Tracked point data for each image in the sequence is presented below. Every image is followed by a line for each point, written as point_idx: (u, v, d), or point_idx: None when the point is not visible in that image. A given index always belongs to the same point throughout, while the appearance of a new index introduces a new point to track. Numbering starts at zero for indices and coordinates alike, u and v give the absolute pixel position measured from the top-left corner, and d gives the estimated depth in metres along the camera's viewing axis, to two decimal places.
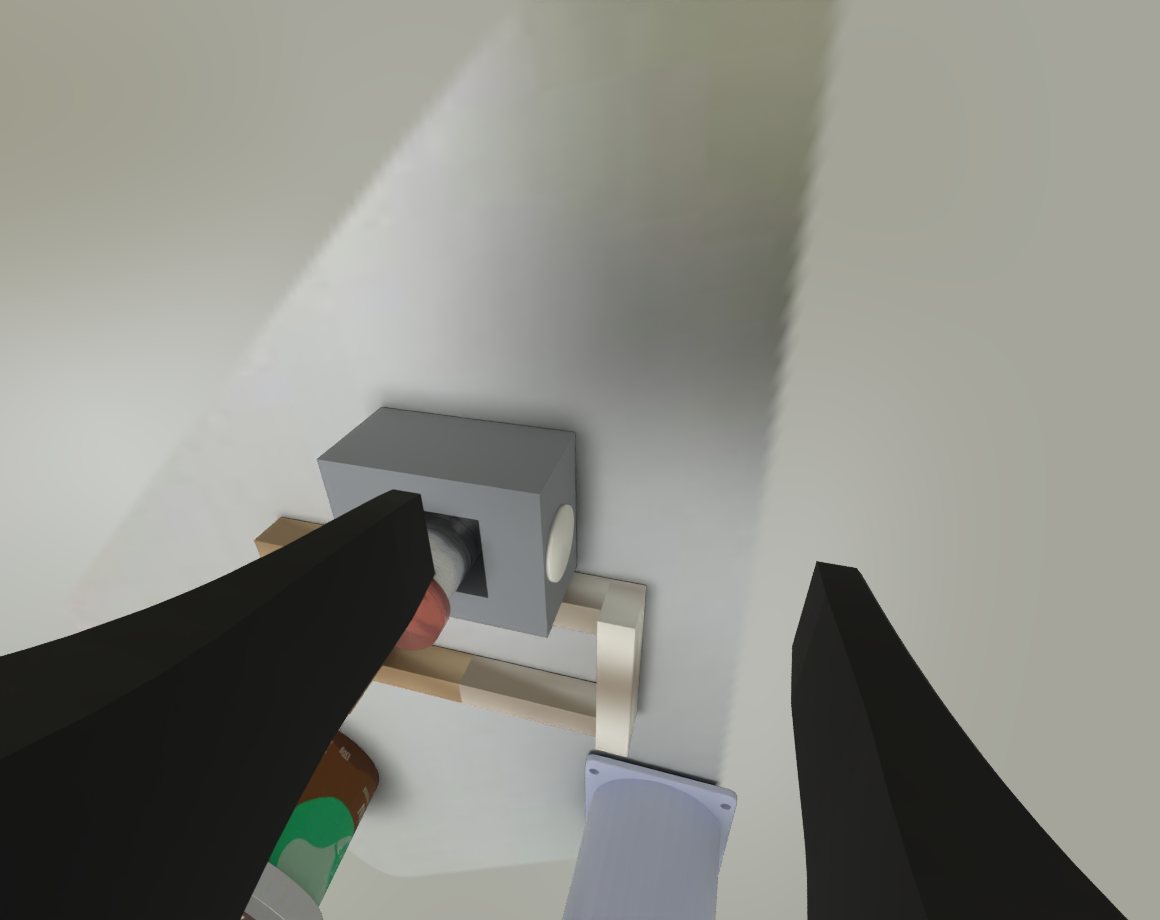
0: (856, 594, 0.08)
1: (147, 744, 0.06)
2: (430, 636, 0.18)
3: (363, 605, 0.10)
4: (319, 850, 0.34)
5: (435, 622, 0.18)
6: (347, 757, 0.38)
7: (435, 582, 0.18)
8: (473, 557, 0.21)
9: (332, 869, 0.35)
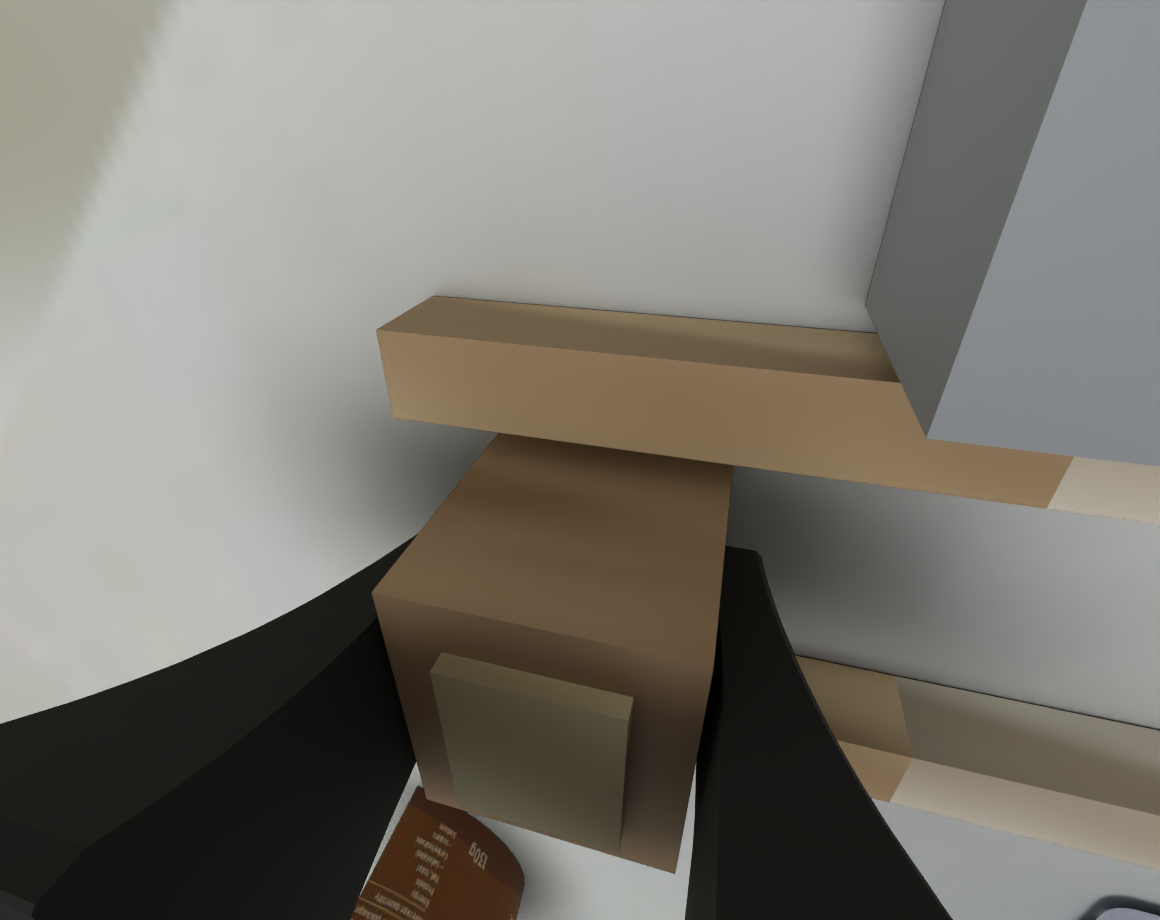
0: (746, 574, 0.09)
1: (266, 782, 0.06)
2: None
3: None
4: None
5: None
6: (483, 863, 0.20)
7: None
8: None
9: None
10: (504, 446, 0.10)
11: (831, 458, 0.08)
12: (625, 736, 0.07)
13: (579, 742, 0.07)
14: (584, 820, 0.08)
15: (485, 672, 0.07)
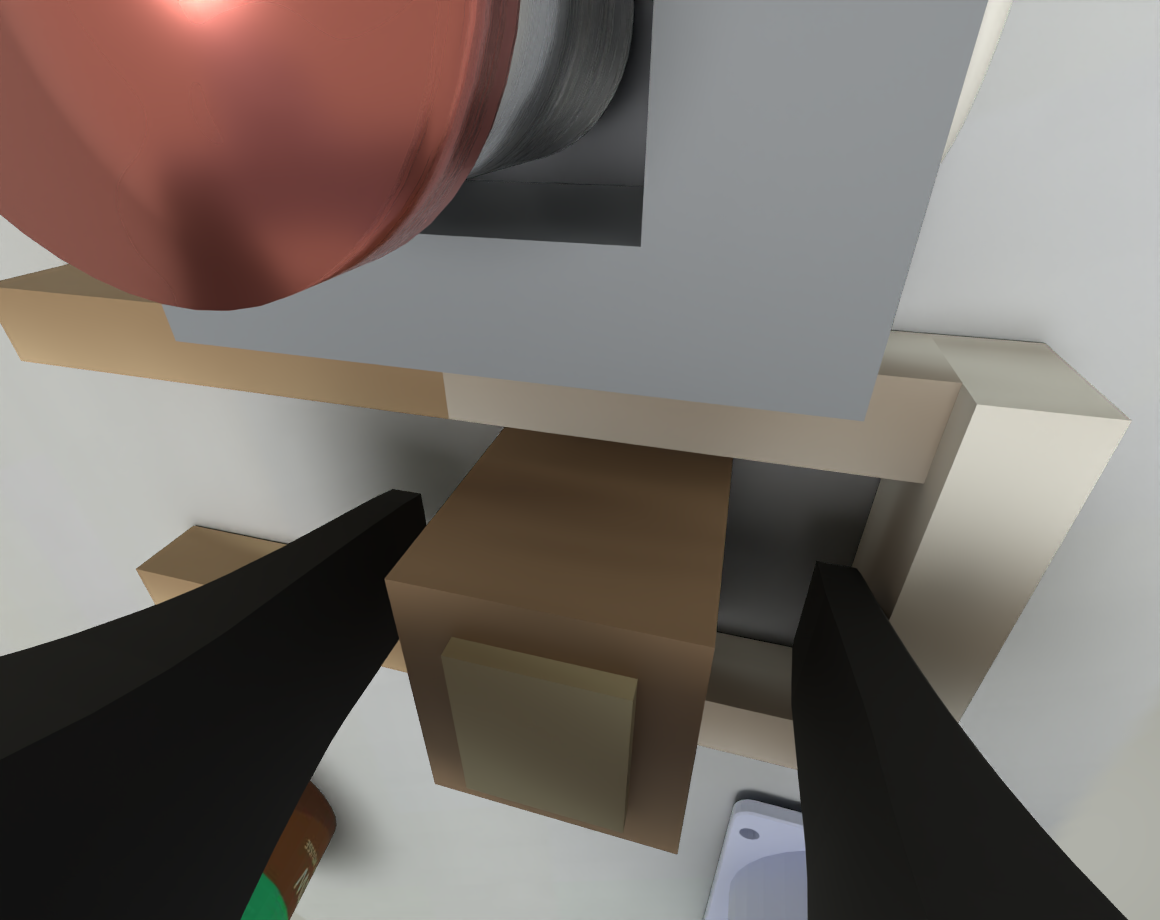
0: (856, 594, 0.08)
1: (147, 744, 0.06)
2: (368, 90, 0.02)
3: (363, 605, 0.10)
4: None
5: None
6: None
7: None
8: (593, 23, 0.05)
9: None
10: (510, 440, 0.10)
11: (305, 383, 0.10)
12: (629, 716, 0.07)
13: (585, 723, 0.07)
14: (589, 801, 0.08)
15: (494, 655, 0.07)
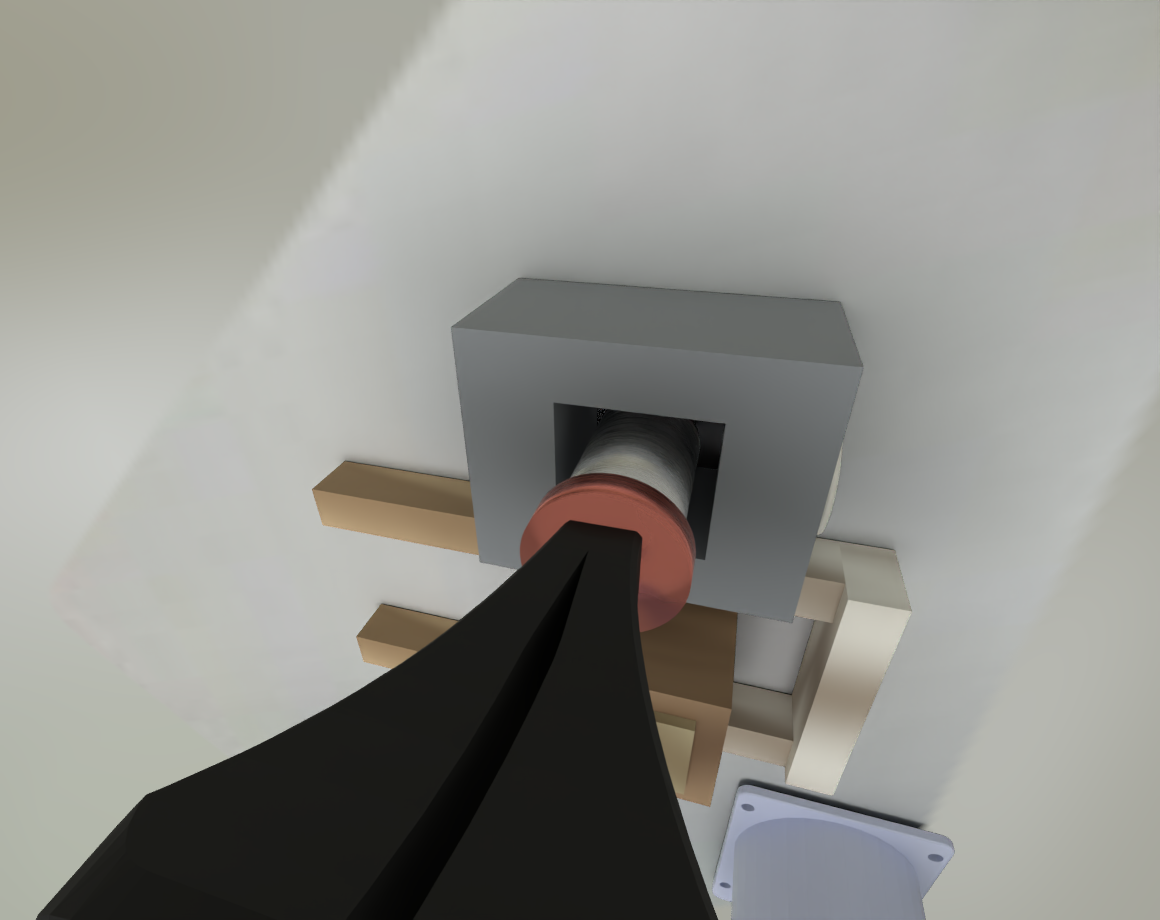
0: (617, 551, 0.09)
1: (446, 839, 0.05)
2: (666, 609, 0.11)
3: None
4: None
5: (683, 583, 0.10)
6: None
7: (682, 515, 0.10)
8: None
9: None
10: None
11: None
12: (692, 738, 0.15)
13: (671, 740, 0.15)
14: None
15: None
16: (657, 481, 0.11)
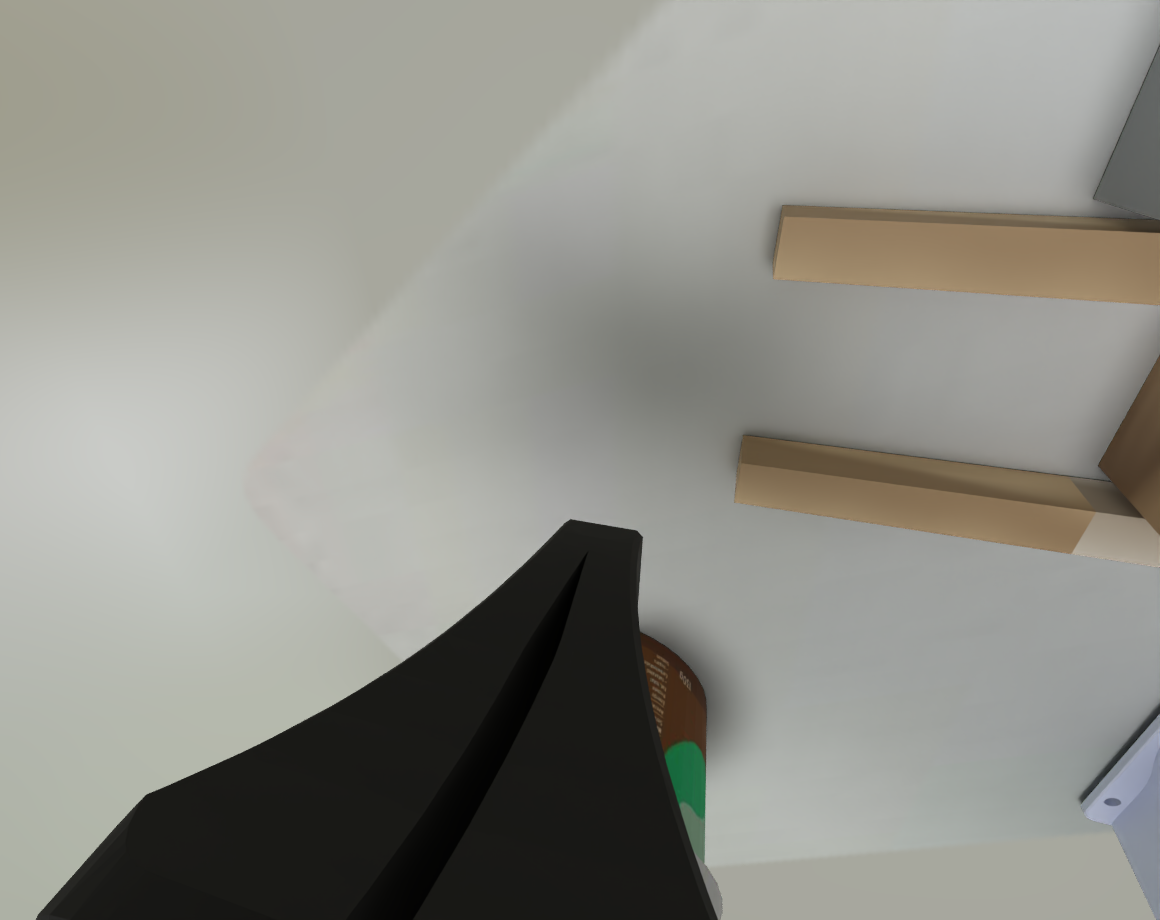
0: (617, 551, 0.09)
1: (446, 838, 0.05)
2: None
3: None
4: None
5: None
6: (689, 686, 0.25)
7: None
8: None
9: None
10: None
11: (1082, 285, 0.13)
12: None
13: None
14: None
15: None
16: None
